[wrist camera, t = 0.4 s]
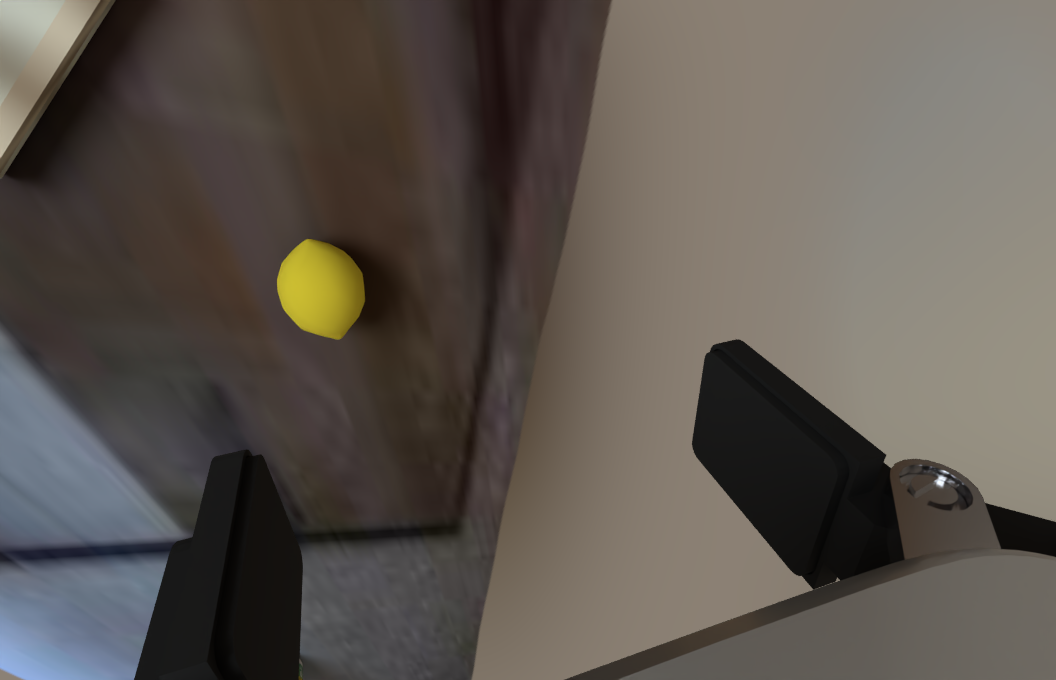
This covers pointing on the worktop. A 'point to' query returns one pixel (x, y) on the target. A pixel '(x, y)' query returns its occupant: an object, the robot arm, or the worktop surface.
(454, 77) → the worktop surface
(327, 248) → the lemon
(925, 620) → the robot arm
